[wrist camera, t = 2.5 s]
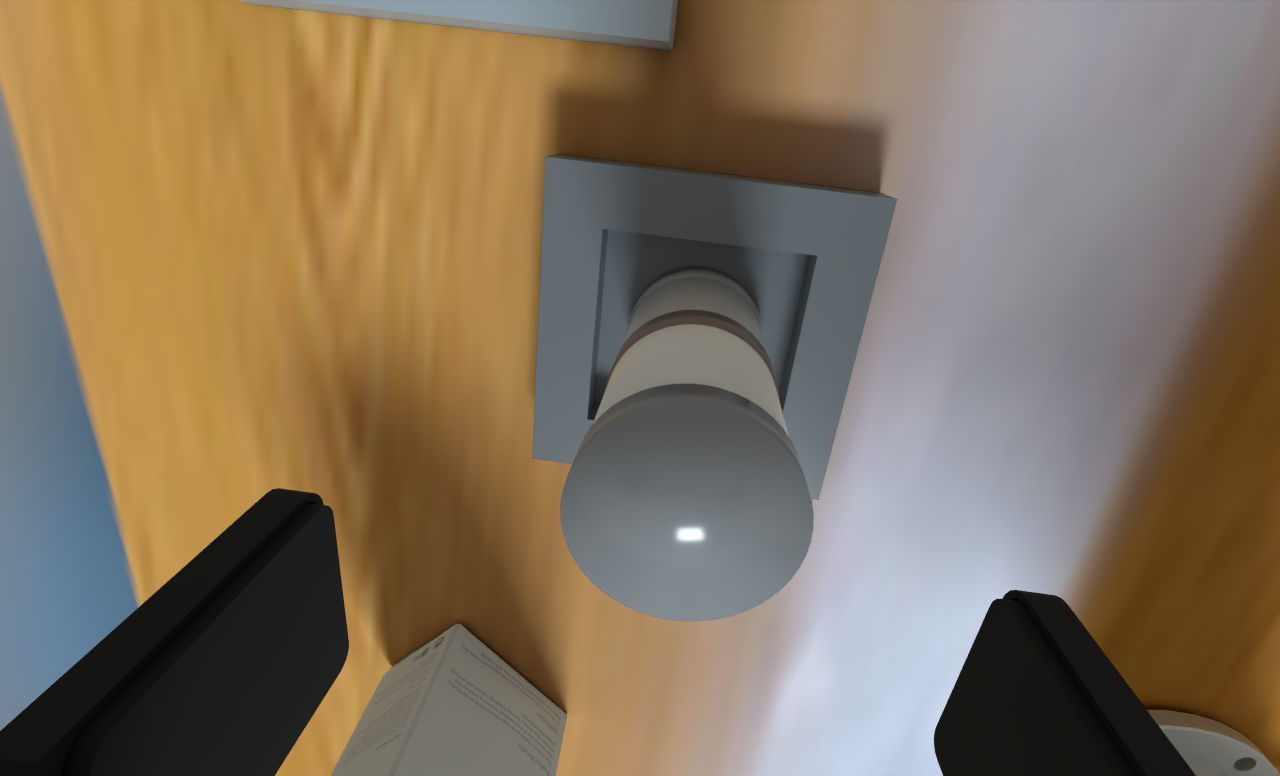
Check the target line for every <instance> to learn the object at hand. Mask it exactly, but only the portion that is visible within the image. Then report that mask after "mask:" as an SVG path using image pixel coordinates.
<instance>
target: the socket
mask: <svg viewBox="0 0 1280 776" xmlns="http://www.w3.org/2000/svg"><path fill="white" fill-rule="evenodd" d="M896 201H897V199H895V198H893V197H890V196H888V195H885V194H883V193H879V192H871V191H863V190H854V189H846V188H838V187H829V186H821V185H813V184H804V183H796V182H788V181H779V180H771V179H763V178H755V177H746V176H738V175H730V174H721V173H713V172H705V171H696V170H688V169H680V168H671V167H663V166H655V165H647V164H638V163H630V162H622V161H613V160H605V159H597V158H588V157H580V156H572V155H563V154H557V155H552V156H547V157H545V179H544V202H543V225H542V248H541V272H540V295H539V318H538V341H537V364H536V387H535V411H534V434H533V457H532V458H533V459H540V460H547V461H554V462H561V463H568V464H573V461H574V459H575V456H576V453H577V451H578V448H579V446H580V444H581V442H582V440H583V438H584V436H585V435H586V433H587V432H588V430H589V429H590V427H591V426H592V424H593V422H594V420H595V417H596V414H597V412H598V409H599V406H600V404H601V401H602V398H603V396H604V393H605V390H606V384H607V381H608V378H609V375H610V372H611V369H612V367H613V364H614V361H615V359H616V357H617V355H618V353H619V350H620V349H621V347H622V345H623V343H624V340H625V337H626V332H627V326H628V322H629V319H630V316H631V313H632V311H633V308H634V306H635V304H636V302H637V300H638V298H639V296H640V295H641V293H642V292H643V291H644V290H645V288H646V287H647V286H648V285H649V284H650V283H652V282H653V281H654V280H655V279H657V278H658V277H660V276H661V275H663V274H665V273H667V272H669V271H672V270H675V269H678V268H683V267H690V266H701V267H708V268H713V269H716V270H719V271H722V272H724V273H726V274H728V275H730V276H732V277H733V278H735V279H736V280H737V281H738V282H740V283H741V284H742V285H743V286H744V287H745V288H746V289H747V291H748V292H749V293H750V295H751V296H752V298H753V299H754V301H755V304H756V306H757V308H758V312H759V315H760V319H761V322H762V326H763V333H764V345H765V349H766V352H767V355H768V357H769V359H770V362H771V365H772V368H773V372H774V375H775V379H776V383H777V386H778V393H779V402H780V405H781V409H782V413H783V417H784V420H785V424H786V428H787V432H788V435H789V437H790V439H791V440H792V442H793V444H794V446H795V448H796V450H797V453H798V455H799V458H800V462H801V465H802V468H803V472H804V476H805V479H806V483H807V486H808V490H809V493H810V497H811V499H816V500H818V499H819V495H820V491H821V487H822V484H823V480H824V476H825V472H826V468H827V464H828V461H829V457H830V453H831V449H832V445H833V442H834V438H835V434H836V430H837V426H838V423H839V419H840V415H841V411H842V407H843V403H844V400H845V396H846V392H847V388H848V384H849V381H850V377H851V373H852V369H853V365H854V362H855V358H856V354H857V350H858V346H859V342H860V339H861V335H862V331H863V327H864V323H865V320H866V316H867V312H868V308H869V304H870V300H871V297H872V293H873V289H874V285H875V281H876V278H877V274H878V270H879V266H880V262H881V259H882V255H883V251H884V247H885V243H886V239H887V236H888V232H889V228H890V224H891V220H892V217H893V213H894V209H895V205H896Z"/></svg>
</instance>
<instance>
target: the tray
mask: <svg viewBox="0 0 1280 776" xmlns="http://www.w3.org/2000/svg"><path fill="white" fill-rule="evenodd" d="M239 1H242V2H246V3H250V4H254V5H263V6H272V7H281V8H290V9H299V10H308V11H317V12H326V13H335V14H344V15H353V16H362V17H371V18H380V19H389V20H398V21H407V22H416V23H425V24H434V25H443V26H452V27H461V28H470V29H479V30H488V31H497V32H506V33H515V34H524V35H533V36H542V37H551V38H560V39H569V40H578V41H587V42H596V43H605V44H615V45H624V46H633V47H642V48H651V49H660V50H669V51H673V44H674V35H675V26H676V17H677V8H678V0H239Z"/></svg>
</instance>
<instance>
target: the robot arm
mask: <svg viewBox="0 0 1280 776" xmlns="http://www.w3.org/2000/svg"><path fill="white" fill-rule="evenodd" d="M348 649H349V640H348V631H347V623H346V615H345V607H344V598H343V590H342V582H341V574H340V565H339V557H338V549H337V540H336V532H335V524H334V516H333V511H332V509H331V508H330V507H329V506H326V505H323V501H322V499H321V497H320V496H319V495H317V494H315V493H308V492H301V491H294V490H287V489H279V488H278V489H272V490H271V491H269V492H268V493H266V494H265V495H264V496H263V497H262V498H261V499H260V500H259V501H257V502H256V503H255V504H254V505H253V506H252V507H251V508H250V509H249V510H247V511H246V512H245V513H244V514H243V515H242V516H241V517H240V518H238V519H237V520H236V521H235V522H234V523H233V524H232V525H231V526H229V527H228V528H227V529H226V530H225V531H224V532H223V533H222V534H221V535H219V536H218V537H217V538H216V539H215V540H214V541H213V542H212V543H210V544H209V545H208V546H207V547H206V548H205V549H204V550H203V551H202V552H200V553H199V554H198V555H197V556H196V557H195V558H194V559H193V560H191V561H190V562H189V563H188V564H187V565H186V566H185V567H184V568H182V569H181V570H180V571H179V572H178V573H177V574H176V575H175V576H174V577H172V578H171V579H170V580H169V581H168V582H167V583H166V584H165V585H163V586H162V587H161V588H160V589H159V590H158V591H157V592H156V593H154V594H153V595H152V596H151V597H150V598H149V599H148V600H147V601H146V602H144V603H143V604H142V605H141V606H140V607H139V608H138V609H137V610H136V611H134V612H133V613H132V614H131V615H130V616H129V617H128V618H126V619H125V620H124V621H123V622H122V623H121V624H120V625H119V626H118V627H117V628H116V629H114V630H113V631H112V632H111V633H110V634H109V635H107V636H106V637H105V638H104V639H103V640H102V641H101V642H100V643H98V644H97V645H96V646H95V647H94V648H93V649H92V650H91V651H90V652H89V653H87V654H86V655H85V656H84V657H83V658H82V659H81V660H79V661H78V662H77V663H76V664H75V665H74V666H73V667H72V668H71V669H70V670H68V671H67V672H66V673H65V674H64V675H63V676H62V677H60V678H59V679H58V680H57V681H56V682H55V683H54V684H53V685H51V686H50V687H49V688H48V689H47V690H46V691H45V692H44V693H42V694H41V695H40V696H39V697H38V698H37V699H36V700H35V701H34V702H32V703H31V704H30V705H29V706H28V707H27V708H26V709H25V710H23V711H22V712H21V713H20V714H19V715H18V716H17V717H16V718H15V719H13V720H12V721H11V722H10V723H9V724H8V725H7V726H6V727H5V728H3V729H2V730H1V731H0V776H275V774H276V773H277V771H278V770H279V768H280V766H281V765H282V763H283V762H284V760H285V758H286V757H287V755H288V754H289V752H290V751H291V749H292V747H293V746H294V744H295V743H296V741H297V740H298V738H299V736H300V735H301V733H302V732H303V730H304V728H305V727H306V725H307V724H308V722H309V721H310V719H311V717H312V716H313V714H314V713H315V711H316V709H317V708H318V706H319V705H320V703H321V702H322V700H323V698H324V697H325V695H326V694H327V692H328V691H329V689H330V687H331V686H332V684H333V683H334V681H335V679H336V678H337V676H338V675H339V673H340V672H341V670H342V668H343V666H344V663H345V661H346V658H347V654H348ZM934 747H935V753H936V757H937V760H938V763H939V766H940V768H941V771H942V774H943V776H1280V774H1279V772H1278V770H1277V769H1276V768H1275V767H1274V766H1273V764H1272V763H1271V762H1270V761H1269V760H1268V759H1267V757H1266V756H1265V755H1264V754H1263V753H1262V752H1261V750H1260V749H1259V748H1258V747H1257V746H1256V745H1255V744H1253V743H1252V742H1251V741H1250V740H1249V739H1247V738H1246V737H1245V736H1244V735H1243V734H1242V733H1240V732H1238V731H1236V730H1234V729H1232V728H1230V727H1228V726H1226V725H1224V724H1222V723H1221V722H1217V721H1214V720H1211V719H1208V718H1205V717H1202V716H1198V715H1195V714H1188V713H1182V712H1176V711H1169V710H1146V708H1145V707H1144V706H1143V704H1142V703H1141V702H1140V700H1139V699H1138V698H1137V696H1136V695H1135V694H1134V692H1133V691H1132V690H1131V688H1130V687H1129V686H1128V684H1127V683H1126V682H1125V680H1124V679H1123V678H1122V676H1121V675H1120V674H1119V672H1118V671H1117V670H1116V668H1115V667H1114V666H1113V664H1112V663H1111V662H1110V660H1109V659H1108V658H1107V656H1106V655H1105V654H1104V652H1103V651H1102V650H1101V648H1100V647H1099V646H1098V644H1097V643H1096V642H1095V640H1094V639H1093V638H1092V636H1091V635H1090V634H1089V632H1088V631H1087V630H1086V628H1085V627H1084V626H1083V624H1082V623H1081V622H1080V620H1079V619H1078V618H1077V616H1076V615H1075V614H1074V612H1073V611H1072V610H1071V608H1070V607H1069V606H1068V604H1067V603H1066V602H1065V601H1064V600H1063V599H1062V598H1060V597H1057V596H1055V595H1048V594H1041V593H1034V592H1026V591H1019V590H1011V591H1009V592H1008V593H1006V594H1005V595H1004V597H1003V599H996V600H994V601H993V602H992V604H991V605H990V607H989V609H988V612H987V614H986V616H985V618H984V621H983V623H982V625H981V627H980V630H979V632H978V634H977V636H976V639H975V641H974V643H973V645H972V648H971V650H970V652H969V654H968V657H967V659H966V661H965V663H964V666H963V668H962V670H961V672H960V675H959V677H958V679H957V681H956V684H955V686H954V688H953V690H952V693H951V695H950V697H949V699H948V702H947V704H946V706H945V708H944V711H943V713H942V715H941V717H940V720H939V722H938V724H937V726H936V729H935V734H934Z"/></svg>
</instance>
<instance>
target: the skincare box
mask: <svg viewBox="0 0 1280 776" xmlns="http://www.w3.org/2000/svg"><path fill="white" fill-rule="evenodd" d="M566 719H567V714H566V713H565V712H563V711H562V710H561V709H560V708H559V707H558V706H556V705H555V704H554V703H553V702H552V701H550V700H549V699H548V698H547V697H545V696H544V695H543V694H542V693H541V692H540V691H538V690H537V689H536V688H535V687H534V686H533V685H531V684H530V683H529V682H528V681H527V680H525V679H524V678H523V677H522V676H521V675H520V674H518V673H517V672H516V671H515V670H514V669H512V668H511V667H510V666H509V665H508V664H507V663H505V662H504V661H503V660H502V659H501V658H499V657H498V656H497V655H496V654H495V653H494V652H492V651H491V650H490V649H489V648H488V647H487V646H485V645H484V644H483V643H482V642H480V641H479V640H478V639H477V638H476V637H475V636H473V635H472V634H471V633H470V632H469V631H468V630H467V629H465V628H464V627H463V626H462V625H461V624H456V625H454V626H452V627H451V628H449V629H448V630H446V631H445V632H443V633H442V634H441V635H440V636H438V637H437V638H435V639H434V640H432V641H430V642H429V643H427V644H426V645H424V646H423V647H421V648H420V649H418V650H416V651H415V652H413V653H412V654H410V655H409V656H407V657H406V658H405V659H403V660H401V661H400V662H399V663H397V664H395V665H394V666H393V667H391V669H390V670H389V671H388V672H386V673H385V675H384V676H383V677H382V679H381V681H380V683H379V685H378V687H377V689H376V691H375V692H374V694H373V696H372V698H371V700H370V702H369V704H368V705H367V707H366V709H365V711H364V713H363V715H362V717H361V719H360V721H359V722H358V724H357V726H356V728H355V730H354V732H353V734H352V736H351V738H350V740H349V742H348V743H347V745H346V747H345V749H344V751H343V753H342V755H341V757H340V759H339V761H338V763H337V764H336V766H335V768H334V770H333V772H332V774H331V776H555V775H556V770H557V765H558V760H559V754H560V749H561V744H562V739H563V733H564V728H565V723H566Z"/></svg>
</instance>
